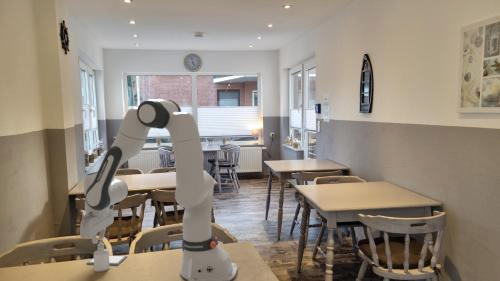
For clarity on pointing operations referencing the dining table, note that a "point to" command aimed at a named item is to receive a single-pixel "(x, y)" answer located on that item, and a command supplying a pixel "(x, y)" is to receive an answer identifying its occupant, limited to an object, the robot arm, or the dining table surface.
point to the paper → (113, 259)
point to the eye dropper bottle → (101, 258)
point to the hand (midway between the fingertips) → (98, 241)
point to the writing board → (110, 263)
